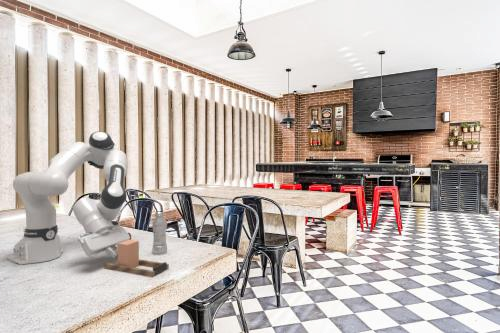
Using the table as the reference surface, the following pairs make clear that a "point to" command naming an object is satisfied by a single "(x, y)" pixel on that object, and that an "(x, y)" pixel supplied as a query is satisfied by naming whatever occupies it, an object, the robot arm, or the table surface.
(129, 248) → the block
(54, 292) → the table surface
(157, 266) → the chute
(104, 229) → the robot arm
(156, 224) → the plastic bottle
